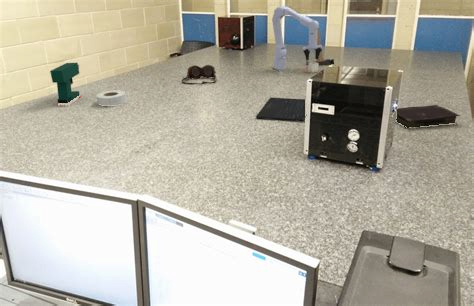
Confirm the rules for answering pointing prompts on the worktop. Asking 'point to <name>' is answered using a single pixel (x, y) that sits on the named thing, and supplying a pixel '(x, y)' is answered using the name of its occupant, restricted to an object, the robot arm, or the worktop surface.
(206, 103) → the worktop surface
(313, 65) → the hollow square socket
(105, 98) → the roll of tape
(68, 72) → the power tool
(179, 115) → the worktop surface
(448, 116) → the diary
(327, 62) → the hammer
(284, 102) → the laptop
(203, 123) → the worktop surface
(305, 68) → the brown rectangular board
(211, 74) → the goggles
